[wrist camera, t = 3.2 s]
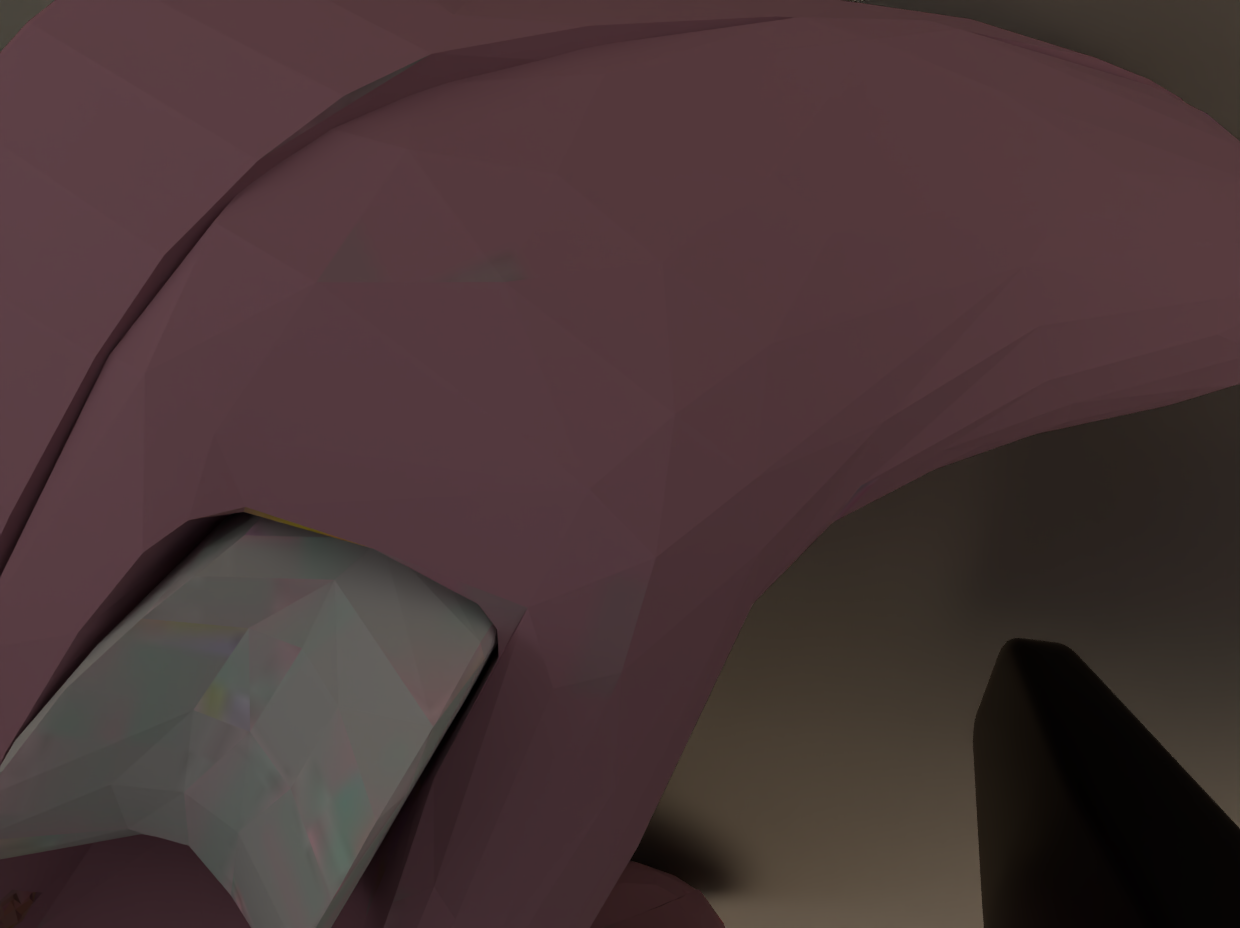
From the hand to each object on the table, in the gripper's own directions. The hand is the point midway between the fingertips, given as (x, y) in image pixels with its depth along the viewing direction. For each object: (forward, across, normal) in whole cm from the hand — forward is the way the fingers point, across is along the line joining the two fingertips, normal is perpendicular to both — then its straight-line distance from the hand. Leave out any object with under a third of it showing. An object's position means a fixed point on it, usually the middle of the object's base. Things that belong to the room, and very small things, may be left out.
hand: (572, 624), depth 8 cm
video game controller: (+1, 0, 0) cm, 1 cm away
